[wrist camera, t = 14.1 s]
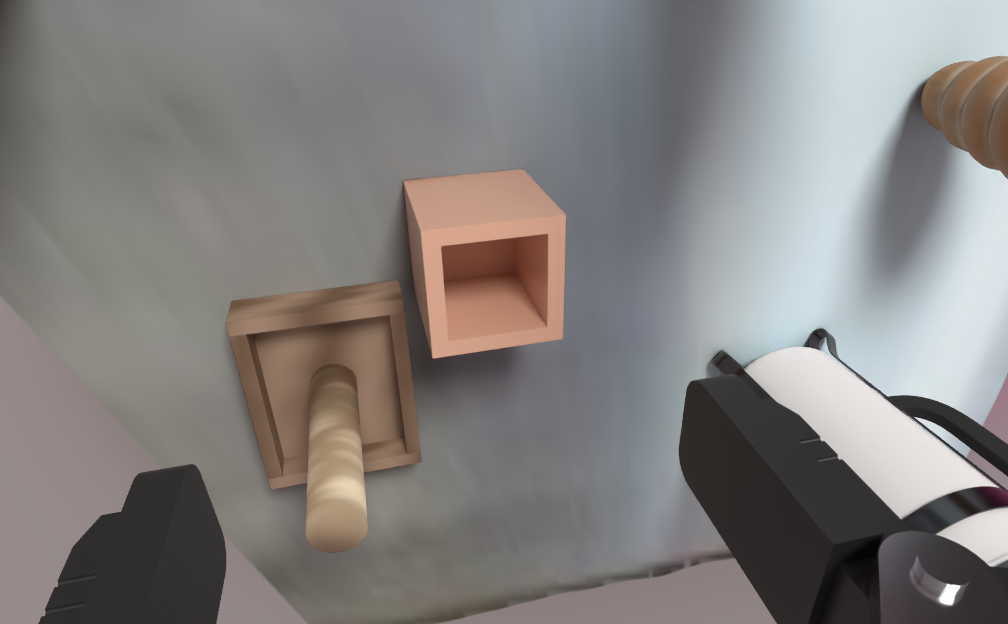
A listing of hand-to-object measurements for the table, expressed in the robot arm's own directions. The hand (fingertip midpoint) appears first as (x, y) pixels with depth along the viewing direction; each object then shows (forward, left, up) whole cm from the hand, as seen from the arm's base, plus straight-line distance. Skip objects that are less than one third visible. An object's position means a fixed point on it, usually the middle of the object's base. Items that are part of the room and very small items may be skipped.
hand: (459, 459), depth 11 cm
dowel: (+5, +19, -32) cm, 37 cm away
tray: (+5, +19, -33) cm, 38 cm away
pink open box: (-6, +9, -33) cm, 34 cm away
